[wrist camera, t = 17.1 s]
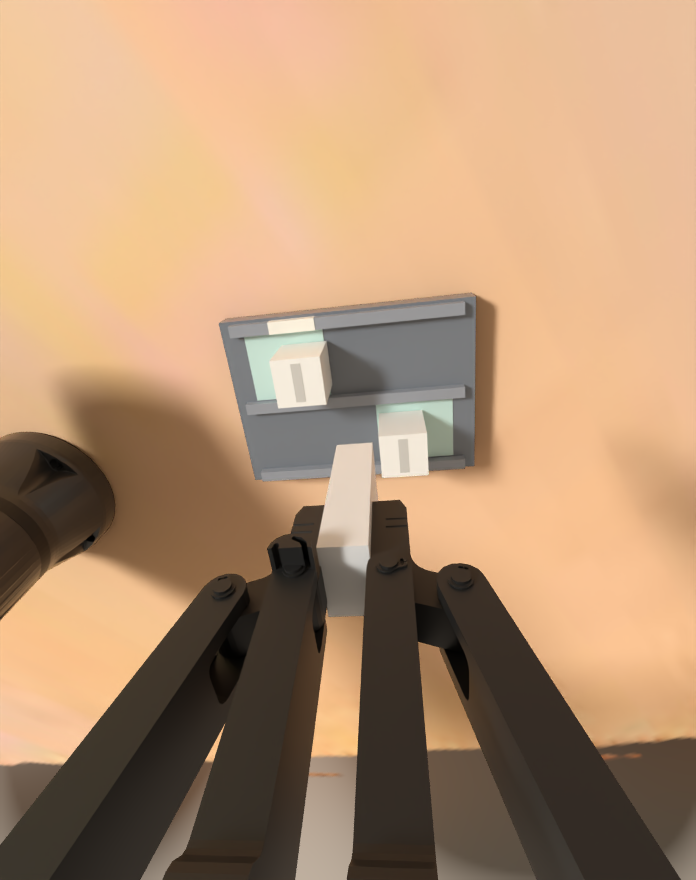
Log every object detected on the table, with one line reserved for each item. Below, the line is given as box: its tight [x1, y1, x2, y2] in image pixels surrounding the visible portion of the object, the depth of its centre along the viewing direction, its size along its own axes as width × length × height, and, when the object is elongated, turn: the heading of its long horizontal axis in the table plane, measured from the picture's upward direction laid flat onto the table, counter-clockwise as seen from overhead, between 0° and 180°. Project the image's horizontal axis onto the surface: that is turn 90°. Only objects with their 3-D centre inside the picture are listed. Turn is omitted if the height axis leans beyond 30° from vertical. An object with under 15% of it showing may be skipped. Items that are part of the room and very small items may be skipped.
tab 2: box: [378, 410, 429, 478], centre depth 40 cm, size 4×4×5 cm
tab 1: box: [269, 341, 332, 409], centre depth 38 cm, size 4×4×5 cm
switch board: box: [219, 293, 476, 481], centre depth 42 cm, size 22×16×3 cm
